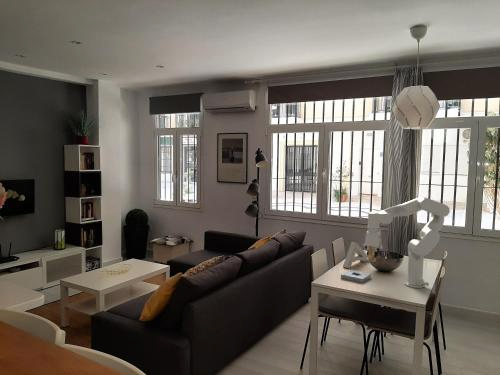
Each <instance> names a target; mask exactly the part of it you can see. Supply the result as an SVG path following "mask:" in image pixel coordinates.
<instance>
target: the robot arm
mask: <svg viewBox="0 0 500 375" xmlns="http://www.w3.org/2000/svg"><path fill="white" fill-rule="evenodd" d="M421 211H425V212H427V213H430V219H429V220H428V221H427V223H426V224H425V225H424V227H423V228H422V229H421V230H420V232H419V237H420V239H415V238H413V239H411V240H410V241H409V242H408V245H407V253H408V255H407V256H408V259H407V260H408V261H407V277H406V278H407V279H406V281H404V285H405V286H407V287H409V288H414V289H423V288H424V287H425V286H427V287H429V286H430V283H429V281H425V280H424V278H423V277H424V276H423V274H424V262H425V261H424V257H427V255H429V254H430V253H431V251H433V249H434V248H435V247H436V246H437V244H438V243H439V241H440V238H441V235H440V233H439V231H440V230H441V229H442V227H443V225H444V223H445V218H446V217H448V216H449V214H450V212H451V210H450V207H449V206H448V205H447V204H444V203H442V202H439V201H436V200H433V199H431V198H428V197H425V196H420V197H416V198H414V199H412V200H409V201H407V202H404V203H402V204H401V203H400V204H397V205H393V206H390V207H388V208H385V209H383V210H380V211H379V212H378V211H369V212H368V214H367V231H366V234H365V238H364V242H363V244H362V247H364V248H365V250H366V252H367V253H366V254H367V256H368V251H369V246H370V247H375V254H374V257H375V258H376V259H377V257H378V255H379V254H378V253H379V251H380V250H382V249H384V246H383V245H382V236H381V235H382V234H381V232H382V229H380V224H384V225H389V224H391V223H392V222H393V218H396V217H408V216H411V215H413V214H415V213H418V212H421Z"/></svg>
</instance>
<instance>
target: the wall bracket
mask: <svg viewBox="0 0 500 375" xmlns="http://www.w3.org/2000/svg"><path fill="white" fill-rule="evenodd" d="M345 256H346V257H345V258H344V262H343V264H342V268H344V269H348V270H350V267H352V265H353V263H356V261H359V262H364V263H367V262H369V261H368V259H367V256H368V255H367V253H366V252H365V251H364V250H363V248H362V247H361V246H360V244H359V243H358V242H356V241H351V242H350V245H349V248H348V251H347V253H346V255H345Z"/></svg>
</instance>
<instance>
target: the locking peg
mask: <svg viewBox="0 0 500 375" xmlns="http://www.w3.org/2000/svg"><path fill="white" fill-rule="evenodd" d="M374 254H375V247H370V246H369V251H368V255H367V256H368V261H367V262H369V263H370V262H371V263H375V262H376V261H377V257H376V258H375V257H374Z"/></svg>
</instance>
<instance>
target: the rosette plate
mask: <svg viewBox="0 0 500 375" xmlns="http://www.w3.org/2000/svg"><path fill="white" fill-rule="evenodd" d="M340 279H341V280H346V281H351V282H354V283H355V282H356V283H359V284H364V283H366V282H367V281H369V280H371V279H372V273H368V272H364V271H358V270H354V269H348V270H347V271H345V272H343V273H341V274H340ZM368 279H369V280H368Z"/></svg>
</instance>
